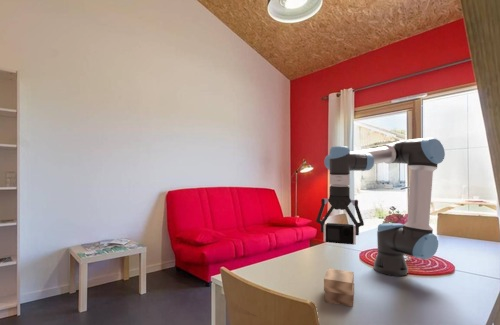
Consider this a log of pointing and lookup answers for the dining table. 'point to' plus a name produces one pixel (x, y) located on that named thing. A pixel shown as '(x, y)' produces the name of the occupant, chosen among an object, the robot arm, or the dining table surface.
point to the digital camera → (340, 233)
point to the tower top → (339, 281)
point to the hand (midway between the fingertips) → (339, 242)
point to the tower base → (340, 298)
